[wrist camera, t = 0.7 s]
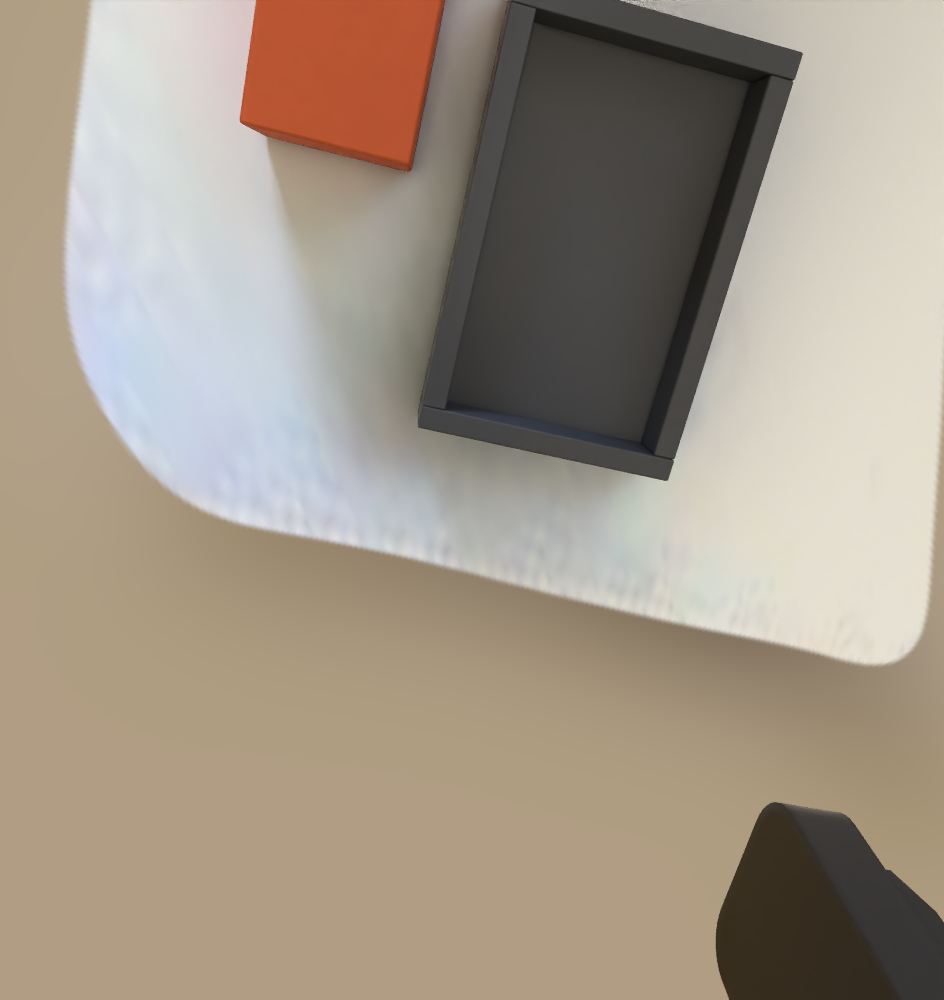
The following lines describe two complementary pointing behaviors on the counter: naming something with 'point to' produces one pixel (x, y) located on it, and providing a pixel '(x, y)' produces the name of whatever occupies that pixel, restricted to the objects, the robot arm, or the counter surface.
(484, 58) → the counter surface
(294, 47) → the orange-red rectangular block
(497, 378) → the tray
